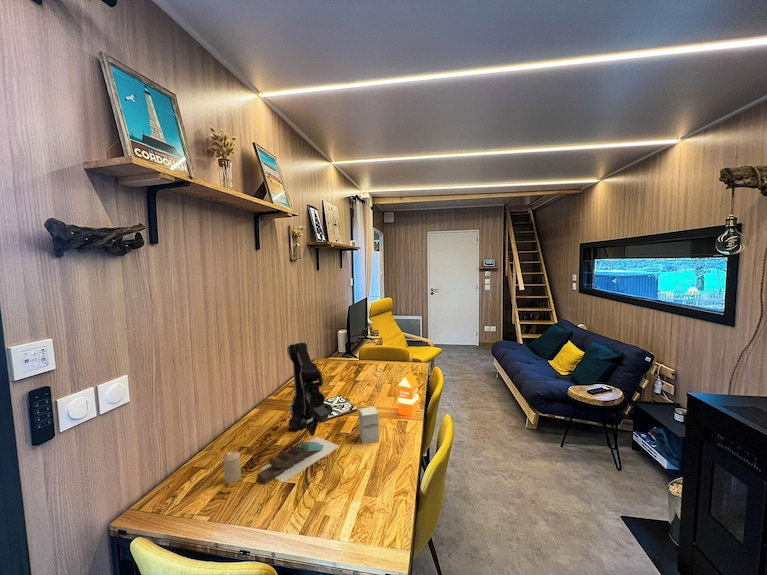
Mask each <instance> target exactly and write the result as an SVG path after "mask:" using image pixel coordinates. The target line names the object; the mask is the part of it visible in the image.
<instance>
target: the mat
mask: <svg viewBox="0 0 767 575" xmlns="http://www.w3.org/2000/svg"><path fill="white" fill-rule="evenodd" d="M308 442H317V443H319V444H321V445H324V446H323V450H316V451H313V455H305V457H304V460H303V461H294V466H293V467H284V469H285V472H284V473H282V474H281V475H279V476H277V477H276V478H275V479H276V480H277V481H280V482H281V483H285V482H286V481H288V480H290V479H291V478H293V477H295V476H296V475H297V474H299V473H300V472H302V471H304V470H305V469H308V467H310V466H311V465H314V463H316V462H318V461H320V460H321V459H323V458H324V457H326V456H327V455H329V454H330V453H332V452H334V451H335V450H336V449H338V448H339V447H341V446H340V445H337V444H336V443H333V442H331V441H329V440H326V439H324V438H322V437H319V436H316V437H314V438H312V439H311V440H308ZM270 466H272V465H270V464H269V463H267V464H266V465H264V466H262V467H261V468H260V470H261V471H263V470H265V469H267V468H269V467H270Z"/></svg>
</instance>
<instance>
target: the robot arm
mask: <svg viewBox="0 0 767 575" xmlns="http://www.w3.org/2000/svg"><path fill="white" fill-rule="evenodd" d="M286 349H287V351H286V352H287V356H288V357H289V359H290V361H291V362H292V365H293V366H292V368H293V369H292V370H293V371H292V372H293V383H294V395H293V397H292V399H291V404H290V408H289V413H290V416H291V418H289V420H288V426H289V427H290V428H291V429H294V430H296V431H300V432H301V431H302V430H305V429H307V431H308V433H309V434H310V436H311V437H313V436H315V434H316V430H317V427H318V424H319V423H322V422H324V421H325V420H328V419H329V416H330V415H331V414H332V413H334V412H333V406H332V405H331V404H330V403H329V404H328V403H325V396H324V394H323V392H321V390H320V387H323V383H324V380H323V375H322V373H321V372H322V371H320V369H319V367H318V366H317V364H316V363H314V362H312V360H311V356H310V355H309V351H308V344H307V343H306V342H297V343H294V344H293V343H291V344H289V345H288V347H287V348H286Z"/></svg>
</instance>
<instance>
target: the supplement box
mask: <svg viewBox="0 0 767 575" xmlns="http://www.w3.org/2000/svg"><path fill="white" fill-rule="evenodd" d="M379 416H380V415H379V412H378V410H377V408H376V407H375V406H371V407H363V408H358V424H359V425H358V427H359V428H358V430H359V432H358V433H359V437H360V439H361V442H362V444H367V443H368V444H369V443H374V442H375V443H376V442H379V441H380V430H379V429H380V428H379V426H380V425H379Z"/></svg>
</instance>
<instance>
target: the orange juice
mask: <svg viewBox="0 0 767 575" xmlns="http://www.w3.org/2000/svg"><path fill="white" fill-rule="evenodd" d="M397 406H398V407H397V408H398V414H399V415H403V416H408V417H414V415H415V414H416V413H417V412H418V411H419V407H420V406H419V382H418V381H417V378H416V377H415V375H414V374H413V372H412V371H409V372H408V373H406V375H404V376H403V378H402V379H401V381H400V382H399V384H398V385H397Z"/></svg>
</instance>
